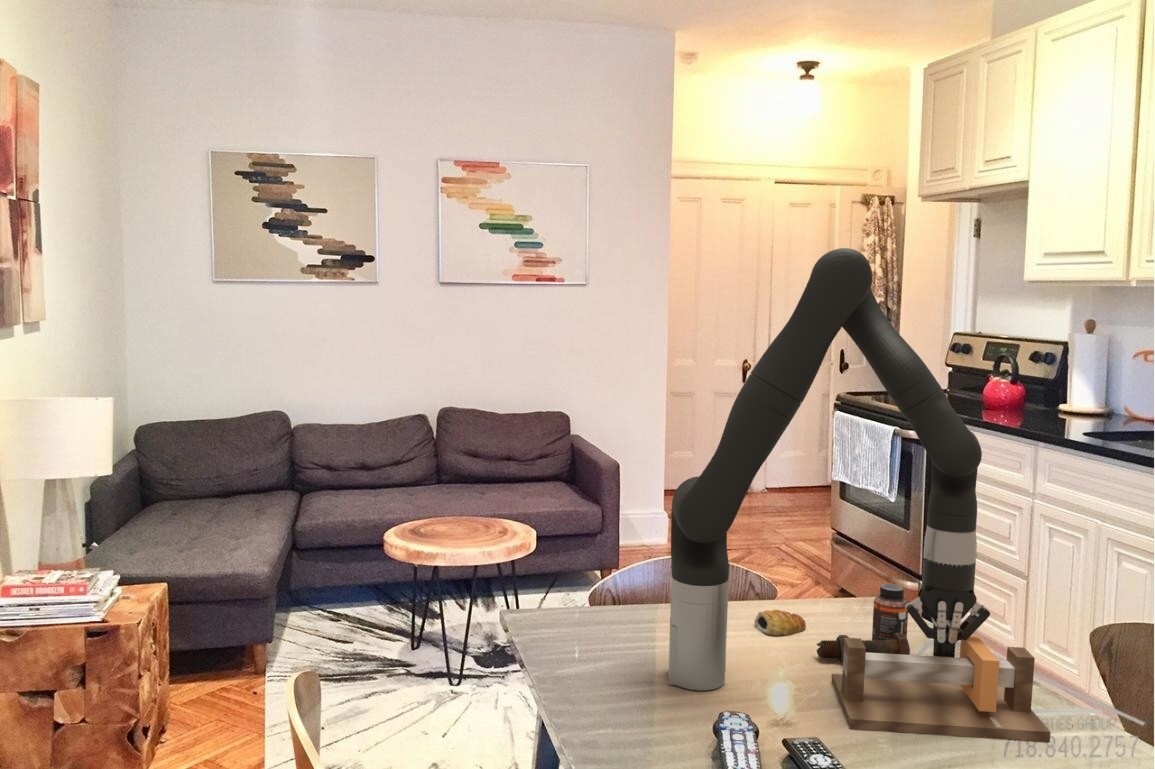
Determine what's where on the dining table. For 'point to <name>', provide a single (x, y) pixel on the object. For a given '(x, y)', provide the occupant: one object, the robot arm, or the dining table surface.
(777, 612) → the pastry
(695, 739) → the dining table surface
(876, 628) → the supplement bottle
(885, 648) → the bolt
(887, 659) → the pipe stand
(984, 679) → the collar
